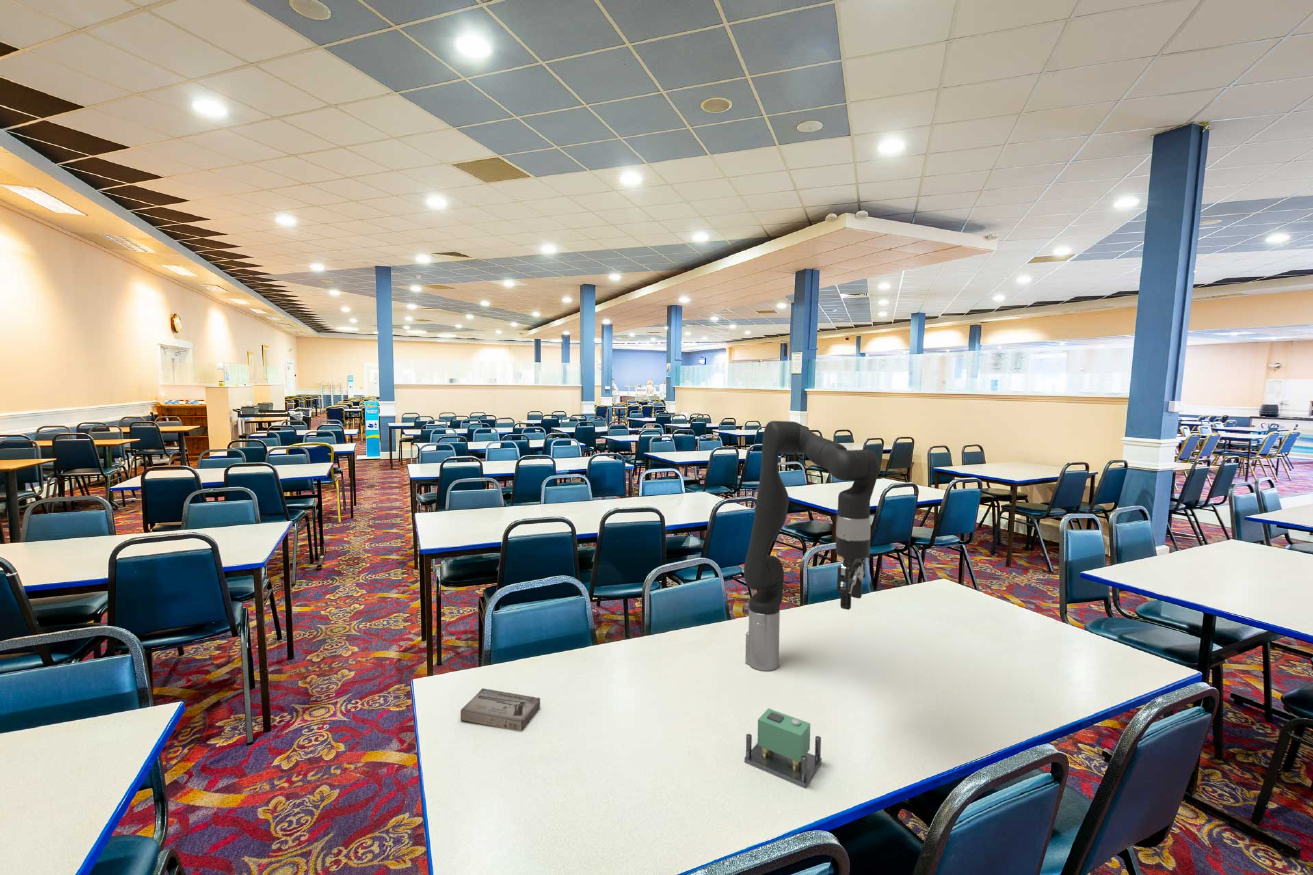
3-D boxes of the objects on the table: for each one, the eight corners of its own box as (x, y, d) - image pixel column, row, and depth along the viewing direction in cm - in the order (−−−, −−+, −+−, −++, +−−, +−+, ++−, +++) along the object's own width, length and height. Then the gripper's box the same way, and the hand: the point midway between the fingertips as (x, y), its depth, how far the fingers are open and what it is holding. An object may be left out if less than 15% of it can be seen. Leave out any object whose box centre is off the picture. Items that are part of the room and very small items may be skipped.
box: (481, 698, 148) (481, 687, 148) (541, 707, 144) (541, 696, 144) (458, 721, 138) (458, 710, 138) (522, 733, 134) (521, 721, 134)
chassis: (744, 762, 123) (744, 736, 122) (763, 739, 131) (763, 715, 130) (805, 787, 115) (805, 760, 114) (821, 762, 123) (822, 736, 122)
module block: (757, 745, 123) (757, 716, 123) (767, 733, 128) (768, 705, 127) (800, 762, 117) (801, 732, 117) (809, 749, 122) (810, 720, 121)
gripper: (846, 527, 136) (844, 591, 137) (826, 539, 125) (825, 608, 126) (877, 531, 132) (875, 597, 133) (860, 544, 120) (858, 616, 121)
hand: (851, 602), depth 129 cm, fingers open, 8 cm apart
